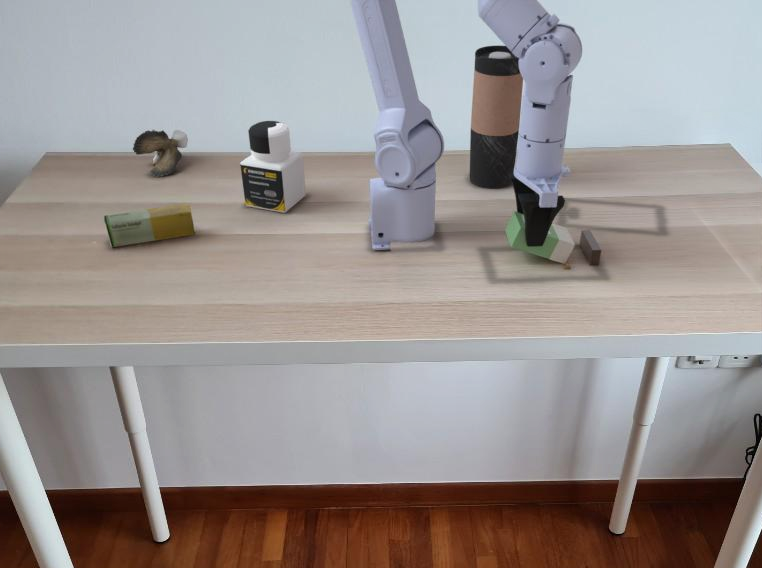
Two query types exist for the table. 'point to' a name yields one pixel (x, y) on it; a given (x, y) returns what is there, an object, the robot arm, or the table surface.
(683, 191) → the table surface
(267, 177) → the medicine bottle
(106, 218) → the medication box
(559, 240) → the block
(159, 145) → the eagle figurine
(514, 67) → the travel mug
